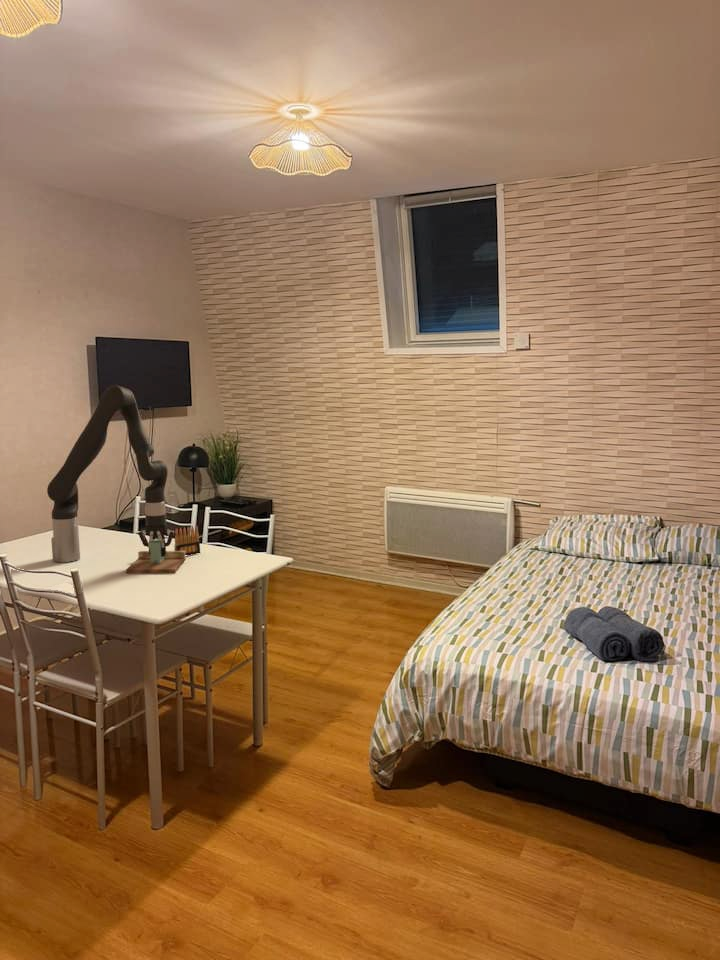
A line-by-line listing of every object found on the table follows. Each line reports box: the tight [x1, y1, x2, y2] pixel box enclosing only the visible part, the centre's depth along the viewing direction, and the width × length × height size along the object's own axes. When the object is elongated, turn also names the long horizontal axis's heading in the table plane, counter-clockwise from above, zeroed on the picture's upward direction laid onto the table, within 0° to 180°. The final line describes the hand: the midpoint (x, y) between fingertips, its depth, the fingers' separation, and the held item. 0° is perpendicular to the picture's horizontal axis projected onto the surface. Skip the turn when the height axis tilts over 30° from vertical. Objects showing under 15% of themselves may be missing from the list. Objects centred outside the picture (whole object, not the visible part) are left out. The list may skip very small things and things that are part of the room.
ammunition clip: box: [174, 524, 201, 556], centre depth 273 cm, size 11×2×12 cm, turn 132°
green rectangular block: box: [150, 539, 164, 563], centre depth 259 cm, size 4×7×8 cm, turn 1°
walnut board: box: [125, 550, 186, 574], centre depth 257 cm, size 18×17×4 cm
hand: (157, 556), depth 260 cm, fingers closed on green rectangular block, 3 cm apart
